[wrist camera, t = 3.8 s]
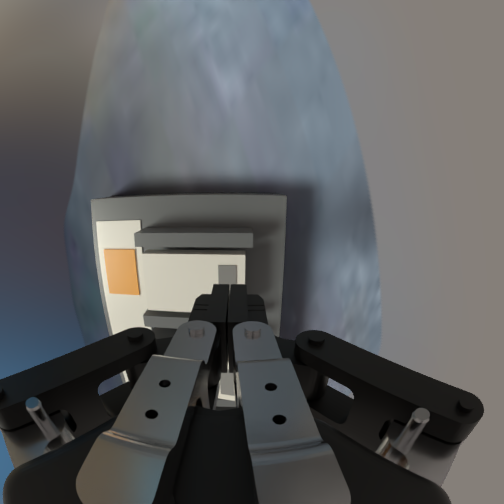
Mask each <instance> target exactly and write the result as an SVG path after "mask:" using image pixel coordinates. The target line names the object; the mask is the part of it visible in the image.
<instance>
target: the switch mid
mask: <svg viewBox="0 0 504 504" xmlns="http://www.w3.org/2000/svg"><path fill="white" fill-rule="evenodd" d="M219 382H220V389H219V394H218V398H219V399H225V400H232V401H235V395H234V376H233V373H229V357H228V369H227V373H221V379H220V381H219Z"/></svg>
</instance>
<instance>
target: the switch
mask: <svg viewBox="0 0 504 504" xmlns="http://www.w3.org/2000/svg"><path fill="white" fill-rule="evenodd" d="M142 262H143V272H144V282H145V290H146V298H147V306H148V310H157V311H174V312H191V311H192V308H193V305H194V302H195V300H196V298H197V297H199V296H200V295H201V294H211V292H212V288H213V284H229V285H230V286H231V284H245V251H240V250H151V249H147V250H146V251H145V252H143V253H142Z"/></svg>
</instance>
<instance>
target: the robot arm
mask: <svg viewBox="0 0 504 504" xmlns="http://www.w3.org/2000/svg"><path fill="white" fill-rule="evenodd" d="M228 357H229V373H233V376H234V395H235V405H236V408H234V409H228V410H221V411H217V410H216V405H217V399H218V394H219V389H220V382H219V381H220V379H221V373H227V369H228ZM123 371H126V374H127V377H128V380H129V381H128V382H126V383H124V384H122V385H120V386H118V387H116V388H114V389H112V390H110V391H108V392H106V393H104V394H102V395H100V396H99V394H98V387H99V385H100V383H101V382H103V381H104V380H107V379H109V378H111V377H113V376H115V375H117V374H119V373H121V372H123ZM329 378H331V379H333V380H334V381H336V382H338V383H340V384H342V385H344V386H346V387H348V388H349V389H350V390H351V391H352V392H353V395H354V399H352V398H350V397H348V396H346V395H344V394H343V393H341V392H339V391H337V390H335V389H333V388H332V387H330V386H328V385H327V383H328V379H329ZM483 413H484V408H483V404H482V402H481V401H480V399H478V397H476V396H475V395H473V394H472V393H470V392H467V391H464V390H462V389H459V388H456V387H454V386H451V385H448V384H446V383H443V382H441V381H438V380H435V379H433V378H430V377H428V376H425V375H423V374H420V373H418V372H415V371H413V370H411V369H408V368H406V367H403V366H401V365H399V364H396V363H394V362H392V361H389V360H387V359H385V358H382V357H380V356H378V355H375V354H373V353H371V352H368V351H366V350H364V349H362V348H359V347H357V346H355V345H353V344H350V343H348V342H346V341H344V340H342V339H339V338H337V337H335V336H333V335H331V334H329V333H326V332H323V331H318V330H309V331H304V332H302V333H300V334H298V335H297V337H296V340H295V341H293V340H286V339H282V338H279V337H277V336H275V335H274V333H273V330H272V328H271V327H270V326H269V325H268V321H267V315H266V311H265V305H264V299H263V298H261V297H260V296H259V295H258V294H247V285H246V284H231V286H230V285H229V284H213V288H212V292H211V294H201V295H200V296H199V297H197V298H196V300H195V302H194V305H193V308H192V311H191V314H190V317H189V320H188V322H186V323H183V324H182V325H180V326H179V327H178V329H177V331H176V332H175V334H174V336H173V337H169V338H161V339H156V338H155V334H154V332H153V331H152V330H150V329H148V328H144V327H133V328H129V329H126V330H124V331H121V332H119V333H116V334H114V335H112V336H109V337H107V338H104V339H102V340H100V341H97V342H95V343H92V344H90V345H87V346H85V347H83V348H80V349H78V350H75V351H73V352H70V353H68V354H65V355H63V356H61V357H58V358H55V359H53V360H50V361H48V362H45V363H42V364H40V365H37V366H35V367H32V368H30V369H27V370H24V371H22V372H20V373H17V374H14V375H11V376H9V377H6V378H4V379H1V380H0V430H1V432H2V434H3V437H4V440H5V443H6V446H7V449H8V452H9V455H10V458H11V460H12V463H13V465H14V468H15V469H14V470H13V471H12V472H11V473H10V474H9V476H8V477H7V479H6V481H5V484H4V488H3V502H4V504H451V501H450V499H449V497H448V495H447V494H446V492H445V491H444V490H443V489H442V488H441V486H442V484H443V482H444V480H445V478H446V476H447V474H448V472H449V470H450V467H451V465H452V463H453V461H454V458H455V456H456V453H457V451H458V449H459V447H460V445H461V444H462V443H463V441H464V440H465V439H466V438H467V437H468V435H469V434H470V433H471V431H472V430H473V429H474V427H475V426H476V425H477V423H478V422H479V420H480V419H481V417H482V416H483Z"/></svg>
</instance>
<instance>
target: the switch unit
mask: <svg viewBox="0 0 504 504" xmlns="http://www.w3.org/2000/svg"><path fill="white" fill-rule="evenodd" d="M286 204H287V196H285V195H282V194H263V193H181V194H151V195H131V196H115V197H105V198H99V199H93V200H91V210H92V226H93V238H94V248H95V257H96V265H97V272H98V279H99V285H100V291H101V297H102V302H103V308H104V313H105V317H106V322H107V327H108V331H109V335H110V336H112V335H114V334H116V333H119V332H121V331H124V330H126V329H129V328H133V327H144V328H148V329H150V330H152V331H153V332H154V334H155V338H156V339H161V338H169V337H173V336H174V334H175V332H176V331H177V329H178V327H179V326H180V325H182V324H183V323H186V322H188V320H189V317H190V314H191V312H174V311H157V310H148V306H147V298H146V290H145V282H144V272H143V262H142V253H143V252H145V251H146V250H147V249H151V250H240V251H245V284H246V285H247V294H258V295H259V296H260V297H261V298H263V299H264V305H265V311H266V315H267V321H268V325H269V326H270V327H271V328H272V330H273V333H274V335H275V336H277V337H279V332H280V319H281V304H282V289H283V271H284V252H285V231H286ZM120 375H121V378H122V381H123V384H124V383H126V382H128V381H129V380H128V377H127V374H126V371H123V372H121V373H120ZM234 408H236V405H235V401H232V400H225V399H219V398H218V399H217V405H216V410H217V411H221V410H228V409H234Z"/></svg>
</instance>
